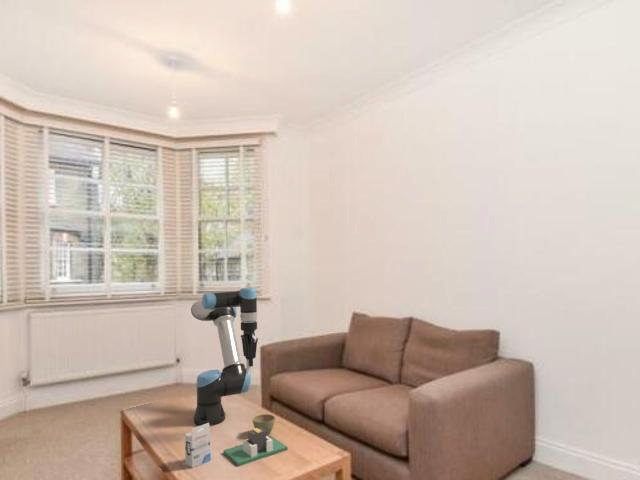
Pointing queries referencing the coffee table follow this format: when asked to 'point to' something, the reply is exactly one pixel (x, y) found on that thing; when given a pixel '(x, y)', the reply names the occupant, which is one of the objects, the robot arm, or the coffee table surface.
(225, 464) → the coffee table surface
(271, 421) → the flower pot
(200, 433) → the ink box
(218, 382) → the robot arm
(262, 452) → the board
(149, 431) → the coffee table surface
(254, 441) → the plug
